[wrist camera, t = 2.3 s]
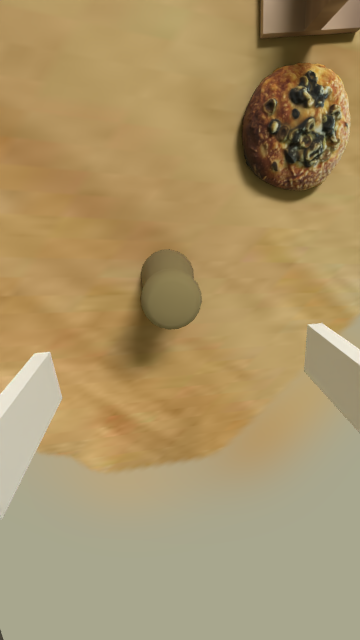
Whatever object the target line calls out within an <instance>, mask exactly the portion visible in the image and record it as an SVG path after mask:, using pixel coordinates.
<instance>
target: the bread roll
mask: <svg viewBox="0 0 360 640" xmlns="http://www.w3.org/2000/svg"><path fill="white" fill-rule="evenodd" d="M348 103H349V102H348V95H347V93H346V92H345V90H344V86H343V82H342V80H341V79H340V78H339V76H338V75H337V74H335V73H334V72H333V71H332V70H330V69H326V68H325V65H321V64H317V63H316V64H310V63H297V64H294V65H289V66H283V67H280V68H277V69H276V70H275V71H274V72H273V73H272V74H271V75H269V76H267V77H266V78H264V79H263V80H262V81H261V83H260V84H259V86H258V87H257V88H256V90H255V92H254V93H253V95H252V97H251V100H250V102H249V104H248V106H247V108H246V111H245V115H244V118H243V131H242V140H243V146H244V153H245V155H244V156H245V159H246V164H247V165H248V166H249V167H250V168H251V170H252V171H253V172H254V174H255V175H257V176H258V177H259V178H260V179H262V180H263V181H265V182H267V183H269V184H271V185H273V186H276V187H280V188H283V189H288V190H299V191H300V190H307V189H309V188H312V187H316V186H318V185H320V184H321V183H322V182H324V181H325V178H326V177H327V176H328V175H329V174H330V173H331V171H332V170H333V168H334V167H335V166H336V164H337V163H338V162H339V160H340V158H341V156H342V154H343V152H344V151H345V149H346V145H347V142H348V138H349V134H350V118H351V116H350V114H349V110H348V108H349V104H348Z"/></svg>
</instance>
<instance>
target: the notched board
mask: <svg viewBox="0 0 360 640" xmlns="http://www.w3.org/2000/svg"><path fill="white" fill-rule="evenodd" d="M359 29H360V0H261V1H260V38H275V37H291V36H306V35H321V34H336V33H351V32H357V31H358V30H359Z"/></svg>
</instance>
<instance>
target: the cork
mask: <svg viewBox="0 0 360 640" xmlns="http://www.w3.org/2000/svg"><path fill="white" fill-rule="evenodd" d="M141 279H142V284H143V289H142V294H141V306H142V309H143V311H144V313H145V315H146V317H147V318H148V319H149V320H150V321H151V322H152V323H153V324H155V325H157V326H158V327H160V328H165V329H179V328H181V327H184V326H186V325H188V324H189V323H190V322H191V321H193V320H194V318H195V317H196V315H197V314H198V313H199V309H200V306H201V302H202V300H201V291H200V289H199V286H198V284H197V282H196V281H195V280H194V277H193V268H192V266H191V263H190V262H189V260H188V259H187V258H186V257H185V256H184V255H183V254H181V253H179V252H178V251H174V250H170V249H169V250H160V251H158V252H155V253H153V254H152V255H151V256H150V257H149V258H147V260H146V261H145V263H144V265H143V267H142V272H141Z"/></svg>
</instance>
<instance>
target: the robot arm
mask: <svg viewBox="0 0 360 640" xmlns="http://www.w3.org/2000/svg"><path fill="white" fill-rule="evenodd" d="M304 372H305V373H306V374H307V375H308V376H309V377H310V378H311V379H312V381H313V382H314V383H315V384H316V385H317V386H318V387H319V388H320V390H322V392H323V393H324V394H325V395H326V396H327V397H328V398H329V399H330V401H331V402H332V403H333V404H334V405H335V406H336V407H337V408H338V410H339V411H340V412H341V413H342V414H343V415H344V416H345V417H346V418H347V419H348V421H349V422H350V423H351V424H352V425H353V426H354V427H355V428H356V430H357V431H358V432H359V433H360V350H359V349H358V348H357V347H355V346H354V345H353V344H351V343H350V342H348V341H347V340H345V339H344V338H343V337H341V336H340V335H338V334H337V333H335V332H334V331H333V330H331V329H330V328H328V327H327V326H325V325H324V324H323V323H319V324H309V325H307V339H306V353H305V367H304ZM61 400H62V395H61V391H60V388H59V384H58V380H57V376H56V372H55V369H54V365H53V361H52V357H51V353H50V352H44V353H35V354H34V355H33V356H32V357H31V358H30V359H29V361H28V362H27V363H26V364H25V365H24V367H23V368H22V369H21V370H20V371H19V373H18V374H17V375H16V376H15V377H14V378H13V380H12V381H11V382H10V383H9V384H8V386H7V387H6V388H5V389H4V390H3V392H2V393H1V394H0V519H2V518H3V516H4V514H5V512H6V510H7V508H8V506H9V504H10V502H11V500H12V498H13V496H14V494H15V492H16V490H17V488H18V486H19V484H20V482H21V480H22V478H23V476H24V474H25V472H26V470H27V468H28V466H29V464H30V462H31V460H32V458H33V456H34V454H35V452H36V450H37V448H38V446H39V444H40V442H41V440H42V438H43V436H44V434H45V432H46V430H47V428H48V426H49V424H50V422H51V420H52V418H53V416H54V414H55V412H56V410H57V408H58V406H59V404H60V402H61ZM0 640H3V637H2V634H1V631H0Z"/></svg>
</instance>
